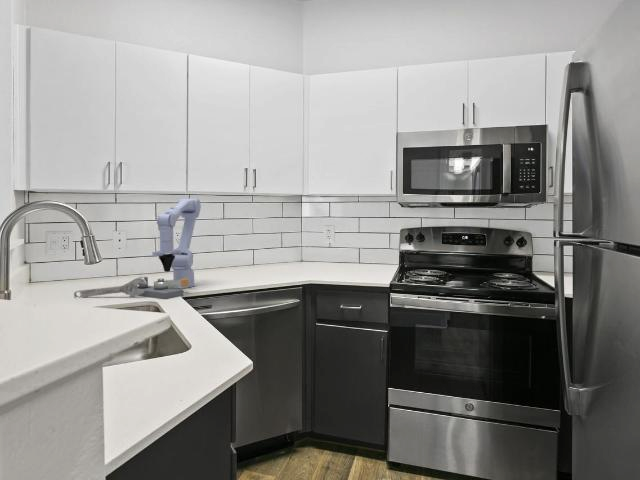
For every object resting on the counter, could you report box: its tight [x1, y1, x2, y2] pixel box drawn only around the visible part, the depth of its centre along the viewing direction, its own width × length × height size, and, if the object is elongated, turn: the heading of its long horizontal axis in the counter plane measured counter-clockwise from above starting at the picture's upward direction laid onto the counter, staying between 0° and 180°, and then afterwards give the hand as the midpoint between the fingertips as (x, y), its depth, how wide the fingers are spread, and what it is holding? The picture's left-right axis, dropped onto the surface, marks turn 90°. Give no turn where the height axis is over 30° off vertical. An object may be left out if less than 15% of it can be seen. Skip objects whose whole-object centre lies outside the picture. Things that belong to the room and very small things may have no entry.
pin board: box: [137, 285, 184, 300], centre depth 202 cm, size 10×24×2 cm, turn 62°
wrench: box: [73, 277, 147, 298], centre depth 196 cm, size 8×2×30 cm
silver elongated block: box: [153, 278, 188, 289], centre depth 205 cm, size 6×14×4 cm, turn 119°
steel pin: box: [137, 276, 149, 289], centre depth 206 cm, size 4×4×7 cm
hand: (167, 271), depth 207 cm, fingers closed
